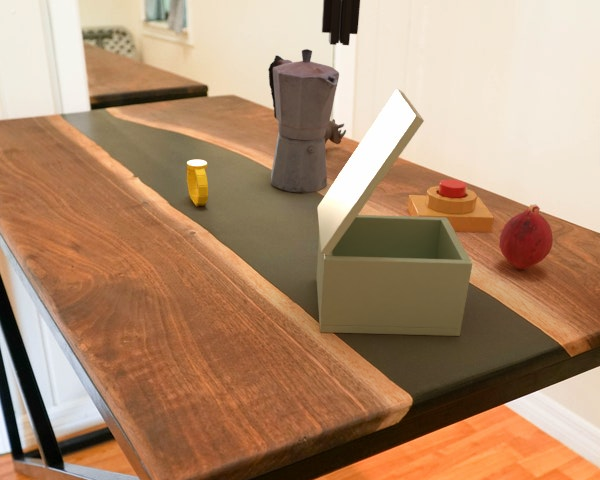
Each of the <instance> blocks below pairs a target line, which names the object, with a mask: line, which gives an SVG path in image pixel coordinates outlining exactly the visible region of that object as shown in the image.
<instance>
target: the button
mask: <svg viewBox="0 0 600 480" xmlns="http://www.w3.org/2000/svg"><path fill="white" fill-rule="evenodd" d="M438 186H439V192H438V195H441V196H443V197H448V198H459V199H460V198H465V195H466V189H468V184H467V183H466V182H464V181H462V180H458V179H442V180H440V182H439V185H438Z"/></svg>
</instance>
